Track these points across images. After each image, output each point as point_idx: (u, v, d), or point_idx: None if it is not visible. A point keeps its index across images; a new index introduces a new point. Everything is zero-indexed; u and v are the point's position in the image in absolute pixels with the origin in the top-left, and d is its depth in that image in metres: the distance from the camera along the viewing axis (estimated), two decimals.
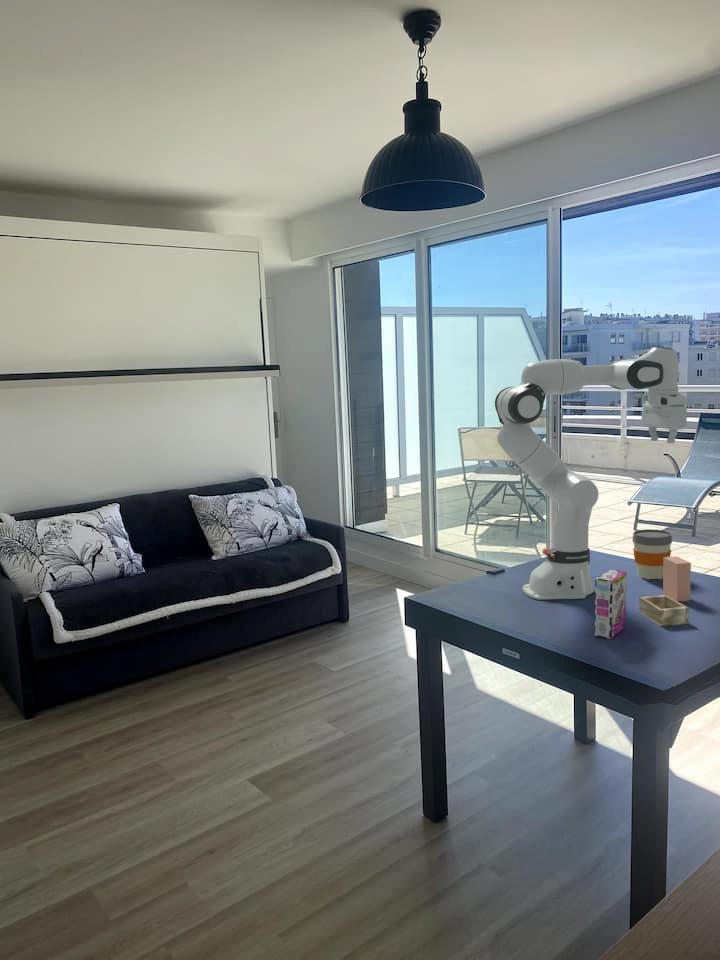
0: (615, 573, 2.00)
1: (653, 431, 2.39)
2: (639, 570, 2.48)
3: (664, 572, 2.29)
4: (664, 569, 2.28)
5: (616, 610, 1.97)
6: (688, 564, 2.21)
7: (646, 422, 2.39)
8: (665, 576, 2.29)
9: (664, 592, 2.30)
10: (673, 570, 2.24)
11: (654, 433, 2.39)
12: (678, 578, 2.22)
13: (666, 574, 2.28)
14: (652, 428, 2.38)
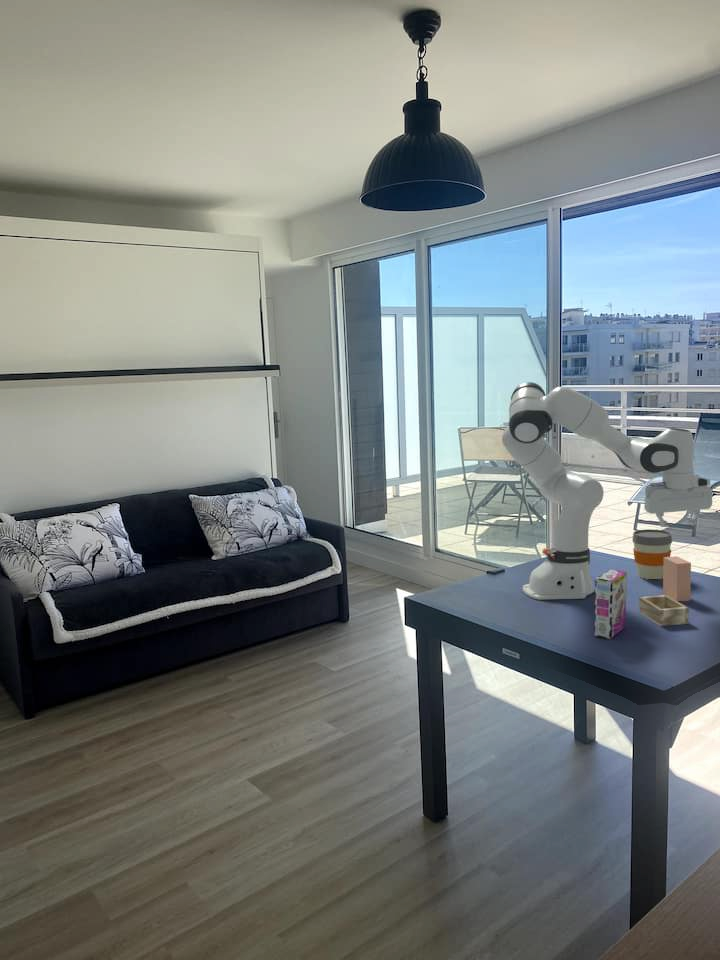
0: (615, 573, 2.00)
1: None
2: (639, 570, 2.48)
3: (664, 572, 2.29)
4: (665, 569, 2.28)
5: (616, 610, 1.97)
6: (688, 564, 2.21)
7: (660, 509, 2.20)
8: (665, 576, 2.29)
9: (664, 592, 2.30)
10: (673, 570, 2.24)
11: None
12: (678, 578, 2.22)
13: (666, 574, 2.28)
14: None
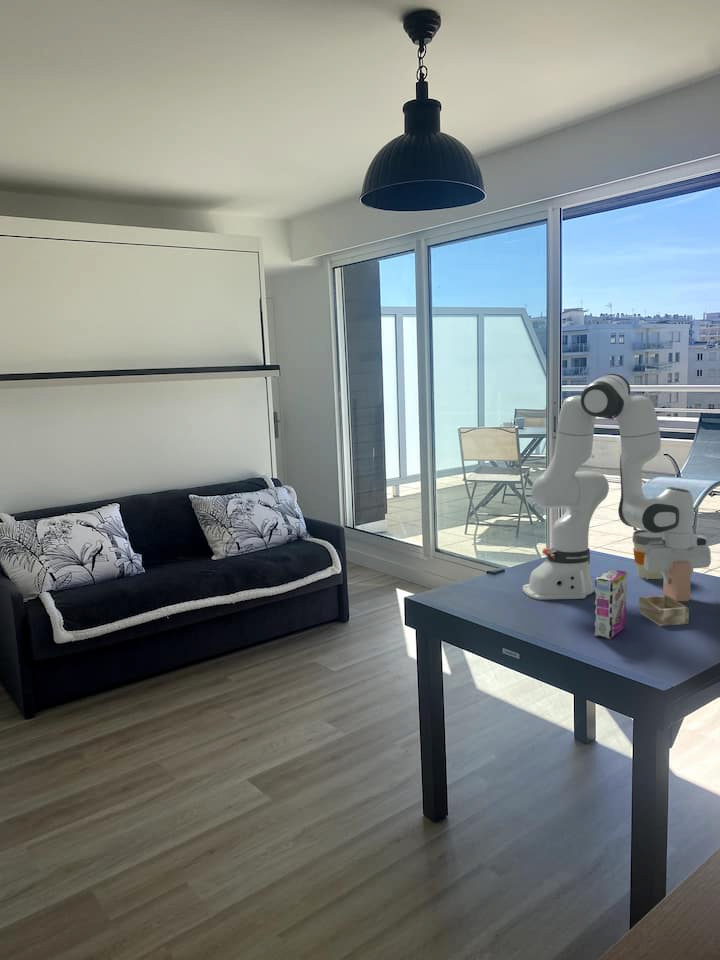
0: (615, 573, 2.00)
1: None
2: (639, 570, 2.48)
3: None
4: None
5: (616, 610, 1.97)
6: (688, 564, 2.21)
7: (660, 567, 2.23)
8: None
9: (664, 592, 2.30)
10: (672, 570, 2.24)
11: None
12: (678, 578, 2.22)
13: None
14: None
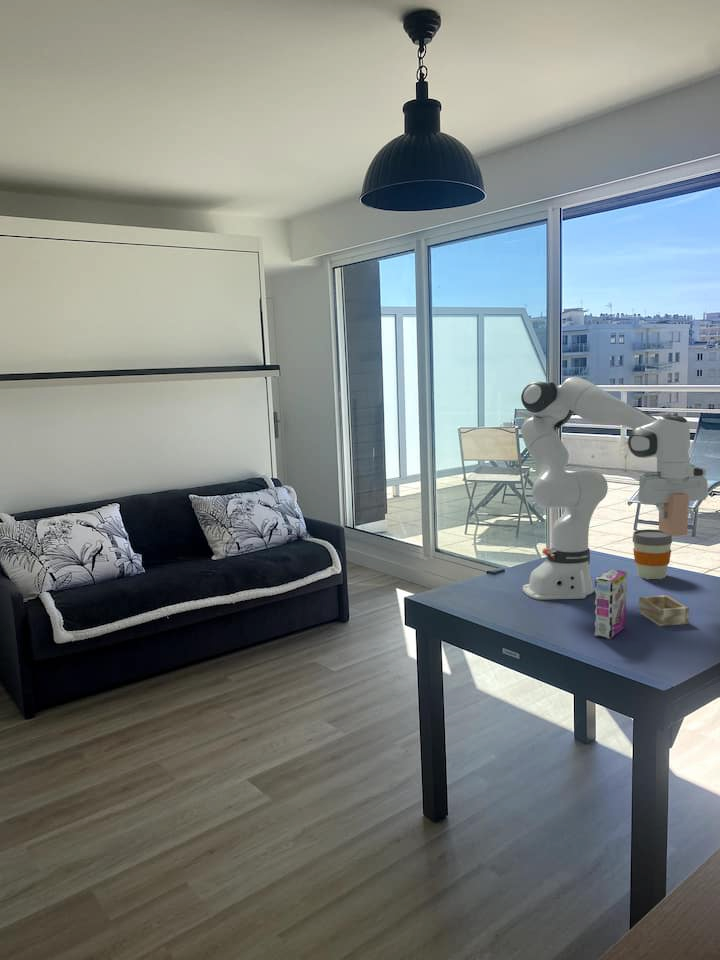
0: (615, 573, 2.00)
1: None
2: (639, 570, 2.48)
3: None
4: None
5: (616, 610, 1.97)
6: (685, 496, 2.11)
7: (655, 499, 2.12)
8: None
9: (660, 528, 2.19)
10: (669, 503, 2.13)
11: None
12: (675, 510, 2.11)
13: None
14: None
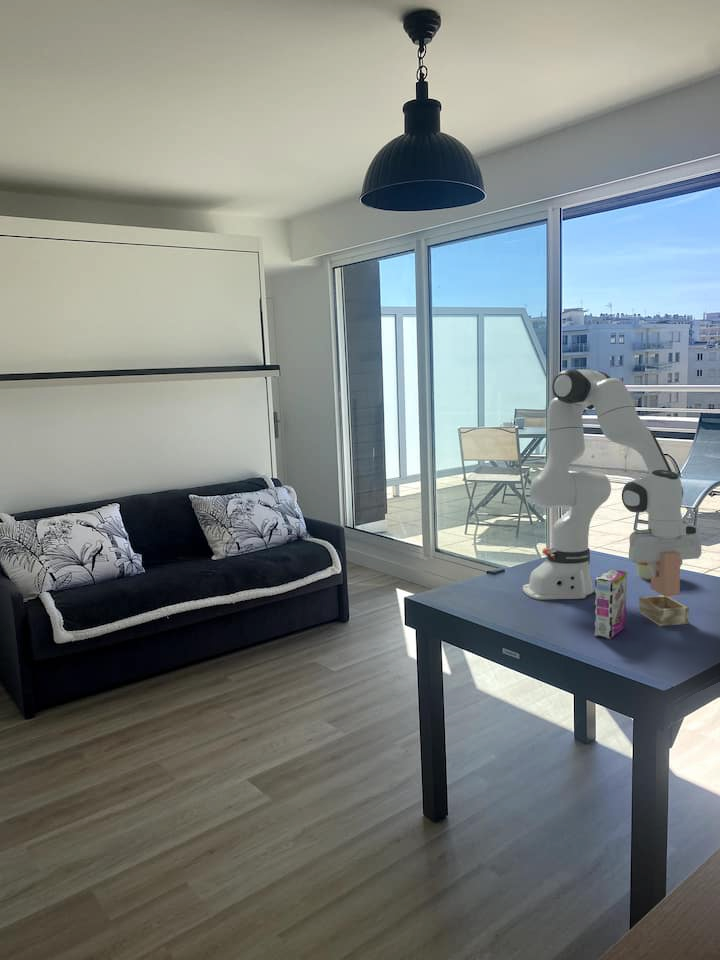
0: (615, 573, 2.00)
1: None
2: (639, 570, 2.48)
3: None
4: None
5: (616, 610, 1.97)
6: (677, 555, 2.03)
7: (646, 558, 2.04)
8: None
9: (652, 586, 2.11)
10: (660, 562, 2.05)
11: None
12: (666, 570, 2.03)
13: (654, 566, 2.09)
14: None
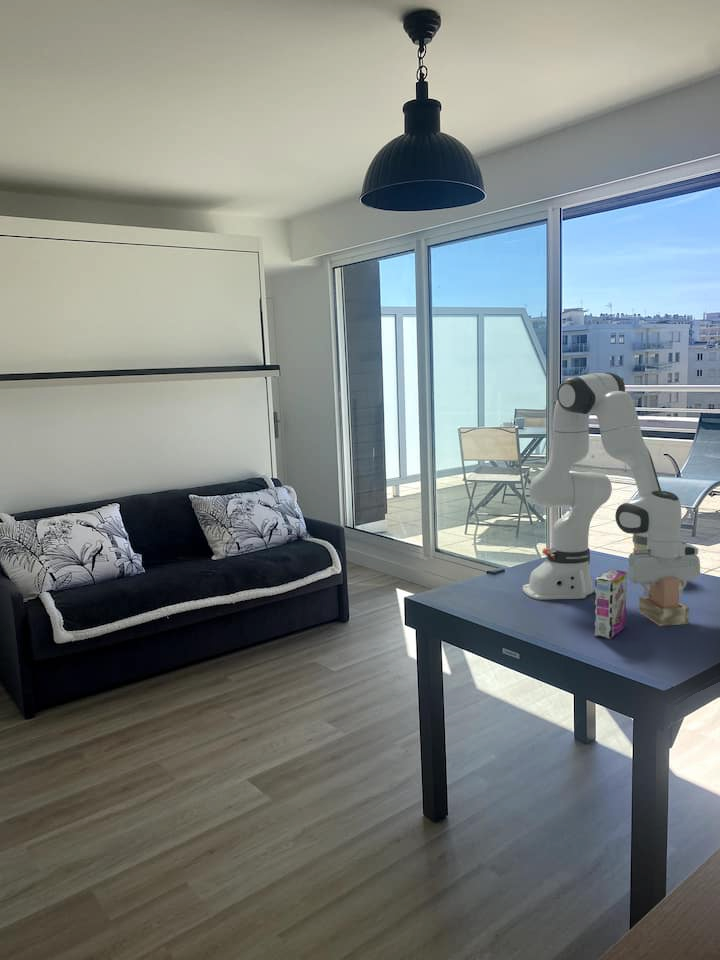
0: (615, 573, 2.00)
1: None
2: None
3: (650, 588, 2.11)
4: (651, 585, 2.11)
5: (616, 610, 1.97)
6: (676, 580, 2.04)
7: (645, 578, 2.06)
8: None
9: None
10: (660, 587, 2.06)
11: None
12: (666, 595, 2.04)
13: (653, 591, 2.10)
14: None
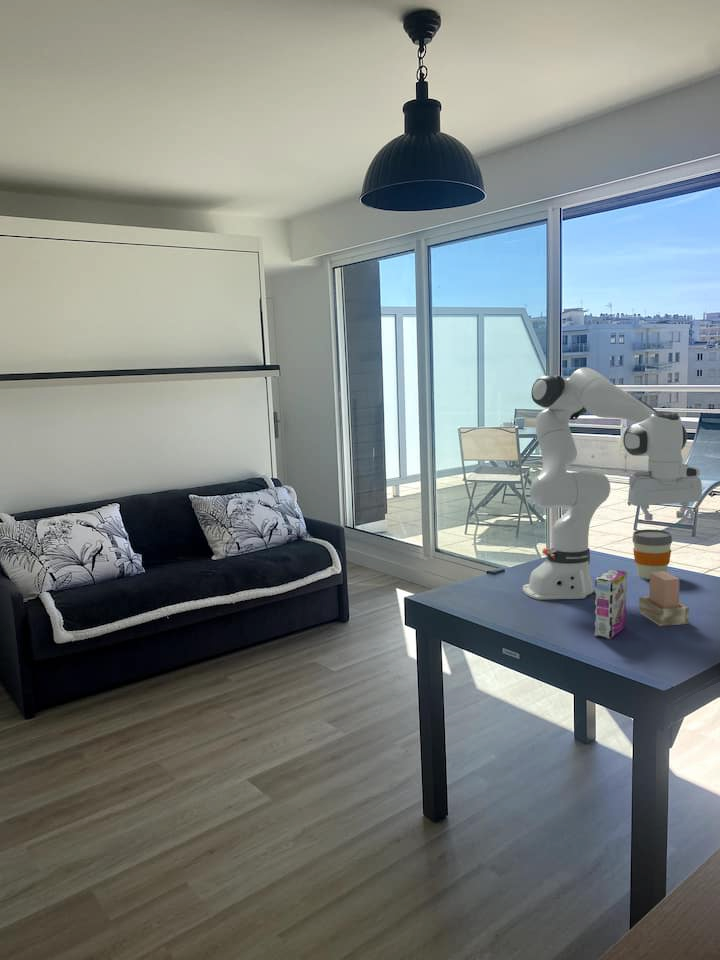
0: (615, 573, 2.00)
1: None
2: (639, 570, 2.48)
3: (650, 588, 2.11)
4: (651, 585, 2.11)
5: (616, 610, 1.97)
6: (676, 580, 2.04)
7: (646, 501, 2.02)
8: (651, 593, 2.11)
9: None
10: (660, 587, 2.06)
11: None
12: (666, 595, 2.04)
13: (653, 591, 2.10)
14: None
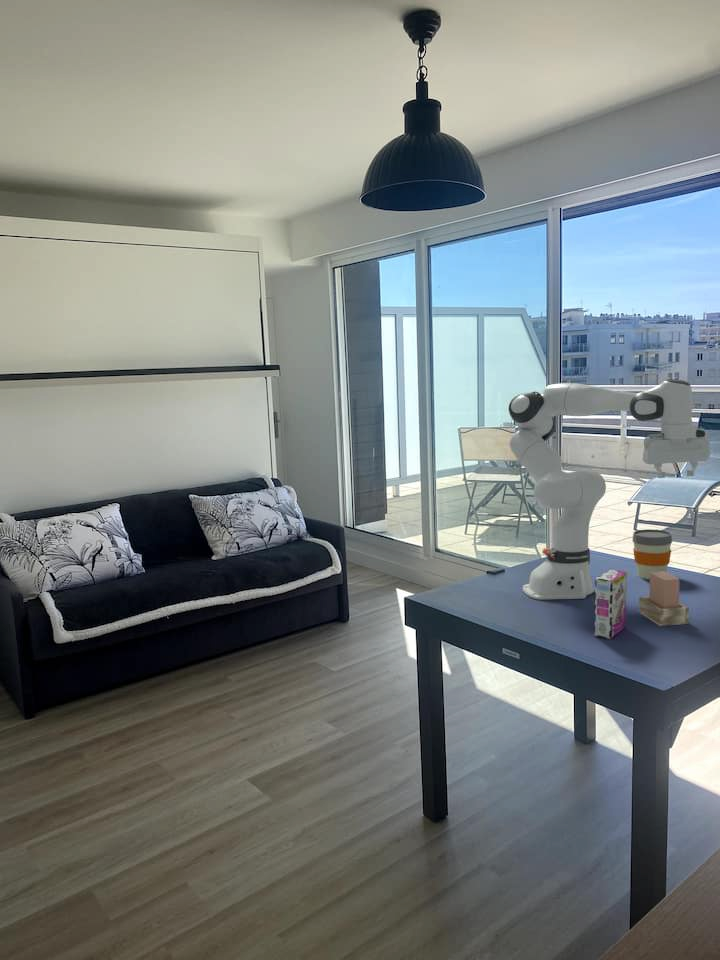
0: (615, 573, 2.00)
1: None
2: (639, 570, 2.48)
3: (650, 588, 2.11)
4: (651, 585, 2.11)
5: (616, 610, 1.97)
6: (676, 580, 2.04)
7: (659, 459, 2.23)
8: (651, 593, 2.11)
9: None
10: (660, 587, 2.06)
11: None
12: (666, 595, 2.04)
13: (653, 591, 2.10)
14: None
